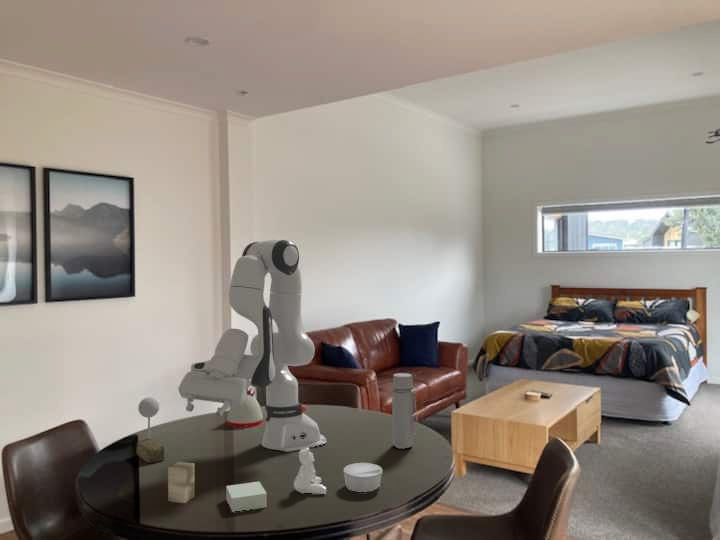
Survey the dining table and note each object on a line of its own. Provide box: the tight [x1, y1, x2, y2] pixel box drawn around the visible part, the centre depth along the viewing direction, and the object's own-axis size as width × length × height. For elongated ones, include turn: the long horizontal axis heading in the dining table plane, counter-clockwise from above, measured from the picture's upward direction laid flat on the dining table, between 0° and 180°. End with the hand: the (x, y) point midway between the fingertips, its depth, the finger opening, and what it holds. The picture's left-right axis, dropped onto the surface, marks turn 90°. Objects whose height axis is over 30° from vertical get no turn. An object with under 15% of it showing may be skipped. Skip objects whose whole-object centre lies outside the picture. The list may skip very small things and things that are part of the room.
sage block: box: [225, 481, 268, 513], centre depth 159 cm, size 9×9×4 cm
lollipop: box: [138, 397, 160, 440], centre depth 215 cm, size 7×7×15 cm
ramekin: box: [343, 462, 383, 492], centre depth 170 cm, size 11×11×5 cm
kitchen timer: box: [226, 387, 264, 428], centre depth 237 cm, size 14×14×15 cm
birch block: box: [167, 461, 196, 504], centre depth 162 cm, size 5×5×9 cm
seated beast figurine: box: [293, 448, 327, 495], centre depth 168 cm, size 10×9×12 cm
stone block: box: [136, 439, 165, 464], centre depth 195 cm, size 6×12×5 cm, turn 39°
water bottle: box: [391, 372, 419, 446], centre depth 206 cm, size 9×8×25 cm
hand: (203, 412), depth 172 cm, fingers open, 8 cm apart
